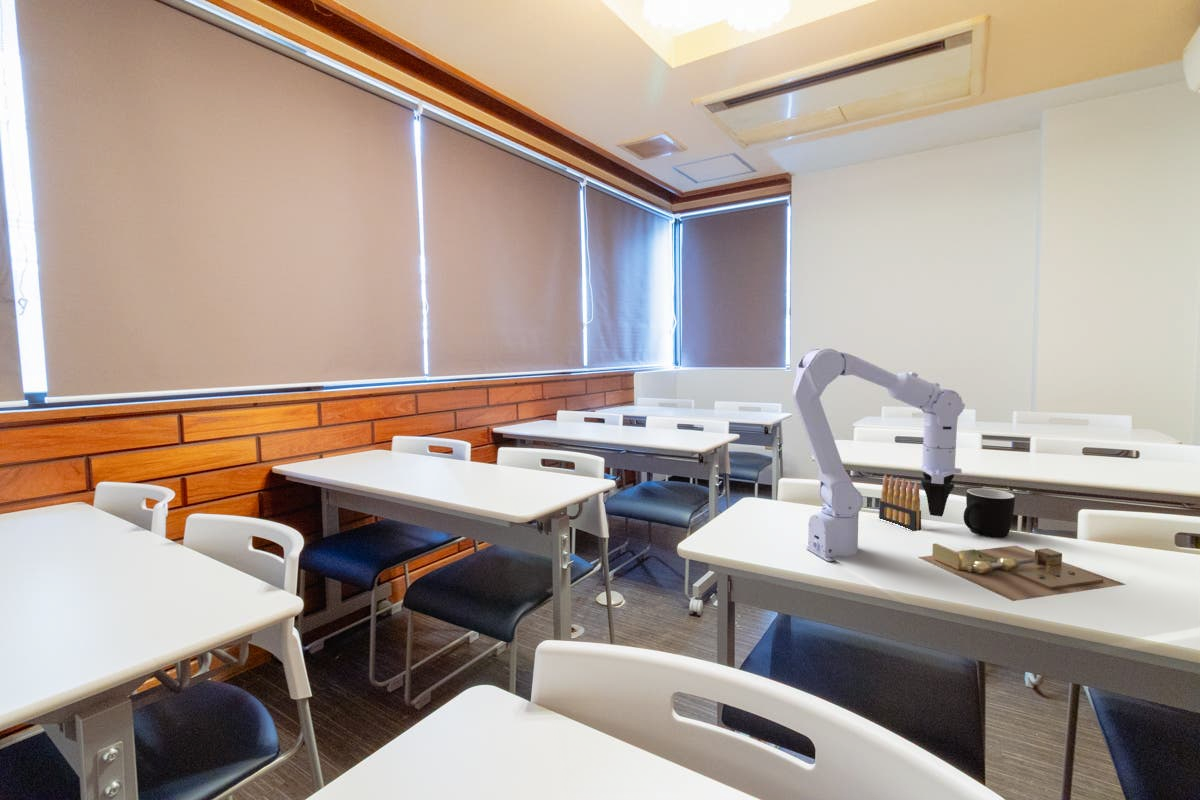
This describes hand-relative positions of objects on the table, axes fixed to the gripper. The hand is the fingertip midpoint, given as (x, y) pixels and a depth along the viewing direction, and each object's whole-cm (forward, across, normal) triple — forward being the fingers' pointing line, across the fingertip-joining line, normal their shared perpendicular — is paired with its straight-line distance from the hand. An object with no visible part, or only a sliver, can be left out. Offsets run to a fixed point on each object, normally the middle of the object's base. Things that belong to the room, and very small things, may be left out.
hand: (936, 510), depth 111 cm
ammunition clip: (+10, +18, +8) cm, 22 cm away
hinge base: (+9, -3, -18) cm, 20 cm away
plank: (+10, -3, -13) cm, 17 cm away
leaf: (+8, -3, -8) cm, 12 cm away
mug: (+10, +19, -9) cm, 23 cm away
